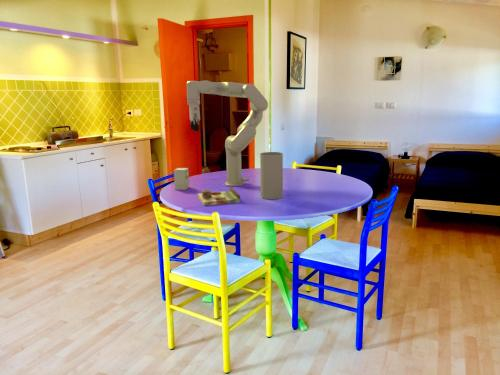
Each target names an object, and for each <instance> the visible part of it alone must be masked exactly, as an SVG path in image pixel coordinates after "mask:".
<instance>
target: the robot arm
mask: <svg viewBox="0 0 500 375" xmlns="http://www.w3.org/2000/svg"><path fill="white" fill-rule="evenodd" d="M200 94H207V95H218V96H223V97H224V96H225V97H232V98H233V97H234V98H247V99H248V100H249V101H250V103H249V107H250V112H249V115H248V116H247V117H246V119H245V120H243V121H242V123H241V124H240V125H239V126H238V127H237V130H236V133H237V134H236V135H229V136H227V138H226V139H225V143H224V148H225V155H226V158H225V159H226V160H225V161H226V181H225V182H224V186H228V187H239V186H243V185H245V182H248V181H250V178H249V177H243V176H242V151H244V149H246V148H247V146H248V145H250V143H251V142H252V141H253V140H254V138H255V137H256V134H257V127H258V126H259V125H260V123H261V122H262V120H263V117H264V116H263V115H264V111H266V110H267V109H268V106H269V103H268V101H267V98H265V96H264V95H263V94H262V93H261V91H260V90H259V88H257V87H256V86H255V85H254V84H253V83H240V82H231V81H221V82H220V81H219V82H217V81H216V82H215V81H210V80H200V81H197V80H188V81H187V82H186V99H187V100H186V102H187V105H188V108H189V109H188V110H189V111H188V112H189V113H188V114H189V120H190V130H191V131H193V132H199V130H200V124H199V122H200V121H201V113H200V104H201V100H200V99H201V98H200Z"/></svg>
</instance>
